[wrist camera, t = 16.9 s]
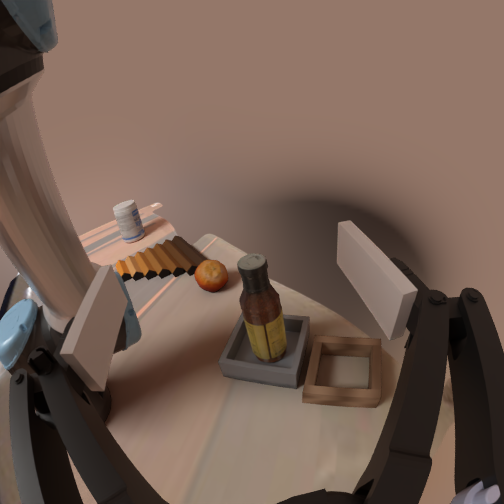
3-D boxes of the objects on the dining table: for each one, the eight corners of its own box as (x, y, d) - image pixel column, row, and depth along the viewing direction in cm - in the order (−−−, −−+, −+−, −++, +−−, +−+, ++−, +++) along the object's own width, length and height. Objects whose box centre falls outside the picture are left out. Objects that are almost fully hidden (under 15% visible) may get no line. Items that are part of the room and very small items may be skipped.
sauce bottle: (285, 336, 50) (276, 245, 40) (289, 362, 45) (281, 269, 35) (250, 341, 50) (232, 251, 40) (251, 367, 45) (230, 275, 35)
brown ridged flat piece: (215, 271, 76) (182, 242, 94) (212, 261, 74) (179, 233, 93) (133, 310, 65) (117, 270, 83) (128, 300, 63) (114, 262, 82)
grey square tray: (223, 376, 45) (218, 361, 43) (246, 325, 55) (242, 310, 53) (296, 388, 41) (296, 374, 38) (309, 332, 51) (309, 316, 49)
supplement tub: (146, 238, 100) (135, 203, 93) (123, 246, 98) (111, 211, 90) (144, 230, 108) (134, 197, 101) (124, 237, 106) (113, 205, 98)
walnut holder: (302, 402, 38) (302, 392, 36) (314, 347, 48) (314, 335, 46) (375, 407, 34) (380, 397, 33) (377, 351, 44) (380, 338, 42)
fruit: (207, 268, 74) (213, 249, 68) (228, 287, 72) (236, 270, 66) (185, 284, 69) (189, 265, 63) (207, 305, 67) (213, 288, 61)
